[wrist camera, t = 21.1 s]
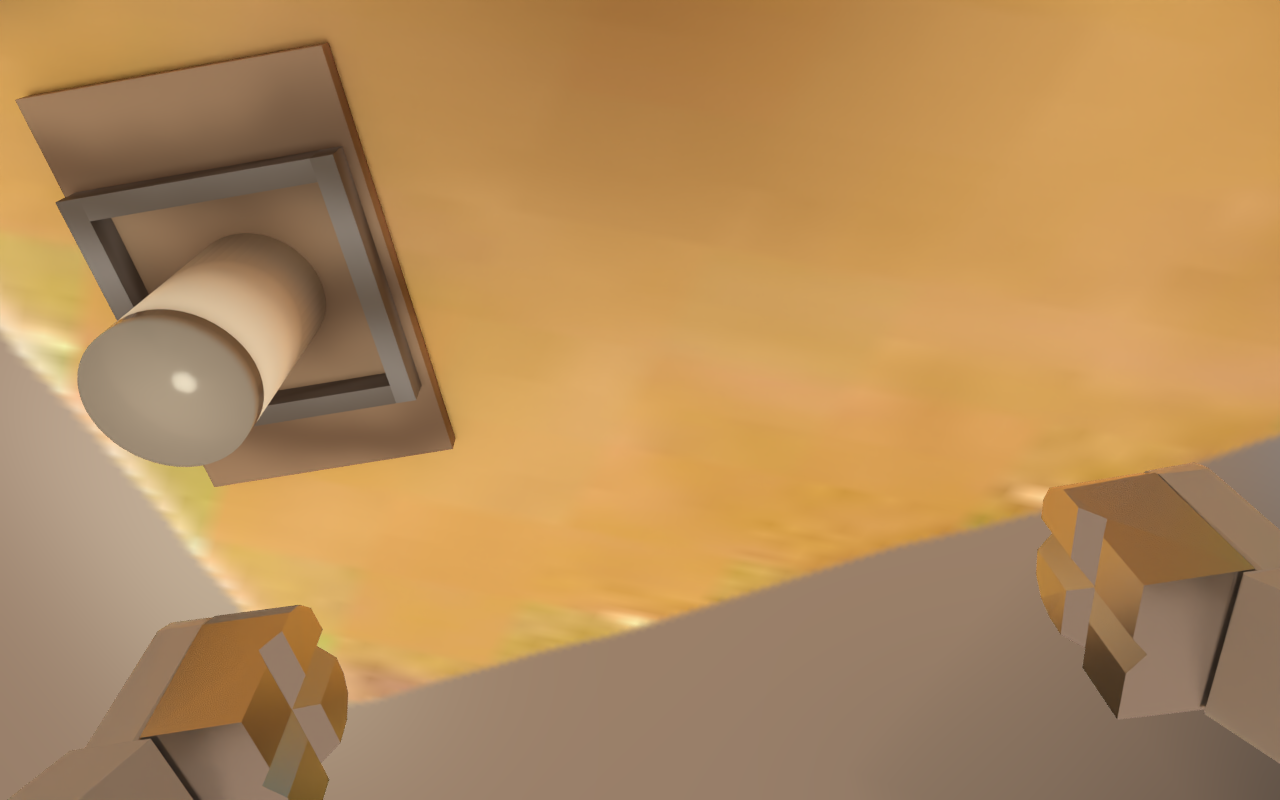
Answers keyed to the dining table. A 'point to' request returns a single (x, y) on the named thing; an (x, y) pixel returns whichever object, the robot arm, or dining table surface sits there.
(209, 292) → the spice jar
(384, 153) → the dining table surface
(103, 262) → the locating board
